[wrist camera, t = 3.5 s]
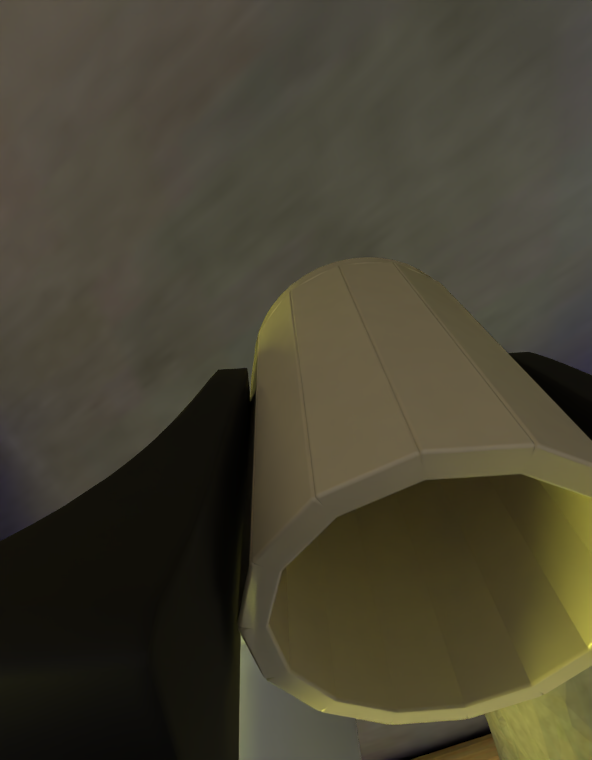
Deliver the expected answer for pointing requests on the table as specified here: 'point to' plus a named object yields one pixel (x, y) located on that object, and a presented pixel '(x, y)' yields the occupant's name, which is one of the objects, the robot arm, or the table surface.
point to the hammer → (466, 751)
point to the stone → (547, 724)
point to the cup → (408, 507)
